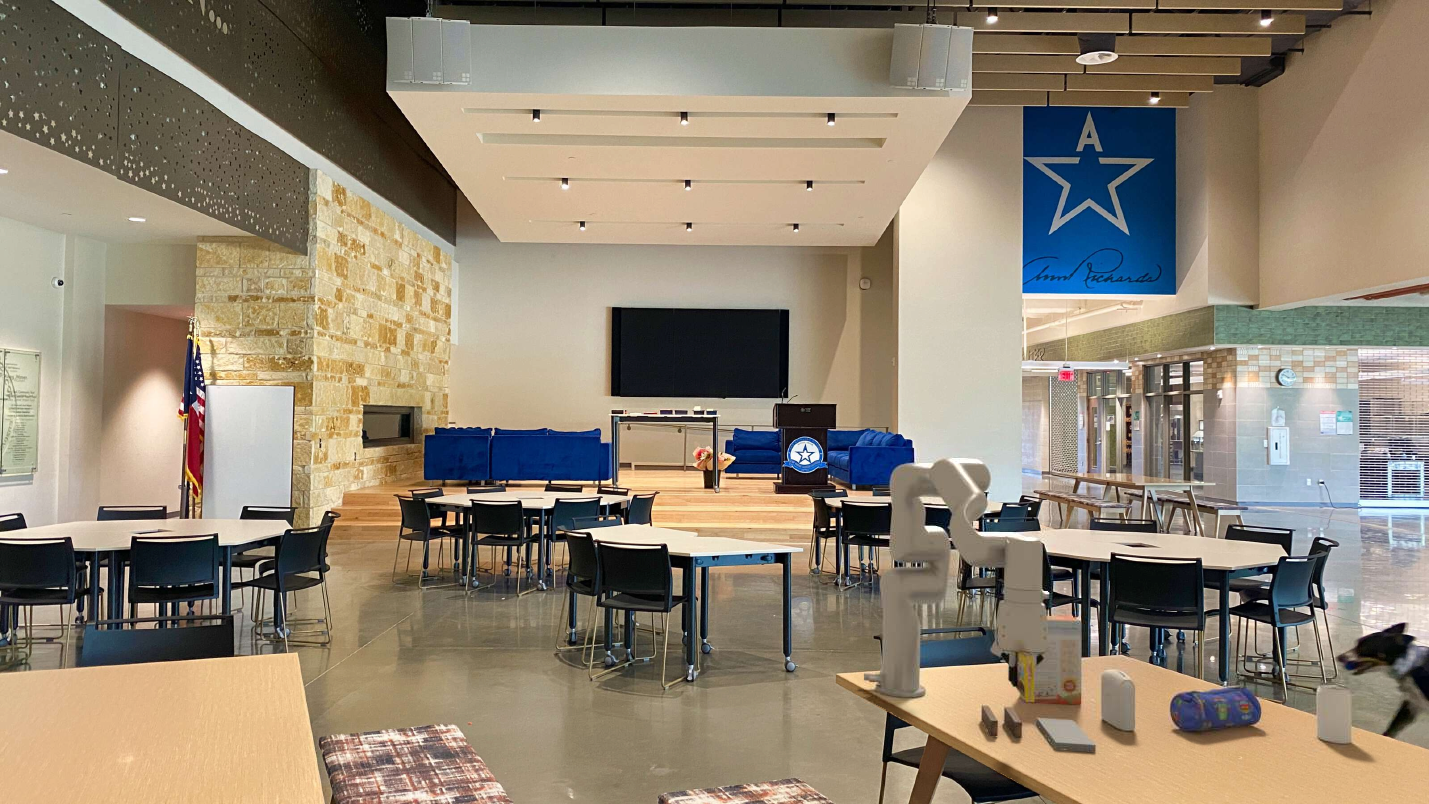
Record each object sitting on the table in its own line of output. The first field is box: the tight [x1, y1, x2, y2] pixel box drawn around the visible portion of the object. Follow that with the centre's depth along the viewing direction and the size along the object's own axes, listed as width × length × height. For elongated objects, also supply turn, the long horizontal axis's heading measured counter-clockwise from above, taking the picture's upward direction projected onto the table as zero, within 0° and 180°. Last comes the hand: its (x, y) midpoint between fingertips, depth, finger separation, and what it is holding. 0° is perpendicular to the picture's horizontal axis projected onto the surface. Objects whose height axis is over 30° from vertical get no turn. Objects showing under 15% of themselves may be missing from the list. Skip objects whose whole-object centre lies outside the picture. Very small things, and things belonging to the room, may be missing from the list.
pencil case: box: [1169, 684, 1262, 732], centre depth 213 cm, size 22×9×10 cm, turn 113°
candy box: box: [1015, 652, 1035, 703], centre depth 190 cm, size 16×2×8 cm, turn 172°
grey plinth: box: [1036, 717, 1097, 753], centre depth 201 cm, size 8×18×2 cm, turn 173°
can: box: [1316, 682, 1352, 745], centre depth 206 cm, size 6×6×12 cm
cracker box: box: [1019, 615, 1082, 705], centre depth 232 cm, size 14×6×21 cm, turn 84°
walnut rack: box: [980, 704, 1023, 740], centre depth 206 cm, size 7×12×4 cm, turn 173°
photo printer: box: [1100, 669, 1136, 732], centre depth 213 cm, size 10×4×12 cm, turn 2°
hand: (1021, 685), depth 191 cm, fingers closed on candy box, 2 cm apart
